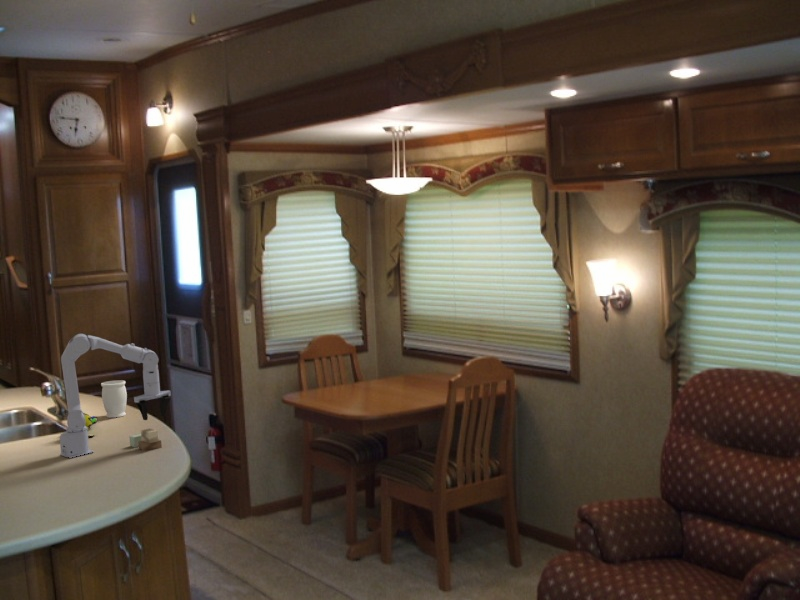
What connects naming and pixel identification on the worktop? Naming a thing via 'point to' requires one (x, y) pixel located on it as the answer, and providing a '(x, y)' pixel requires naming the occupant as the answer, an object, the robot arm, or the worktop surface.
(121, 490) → the worktop surface
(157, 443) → the walnut slab
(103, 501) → the worktop surface
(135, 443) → the sage brick
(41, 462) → the worktop surface
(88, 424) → the toy
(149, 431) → the maple brick
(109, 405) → the jar
